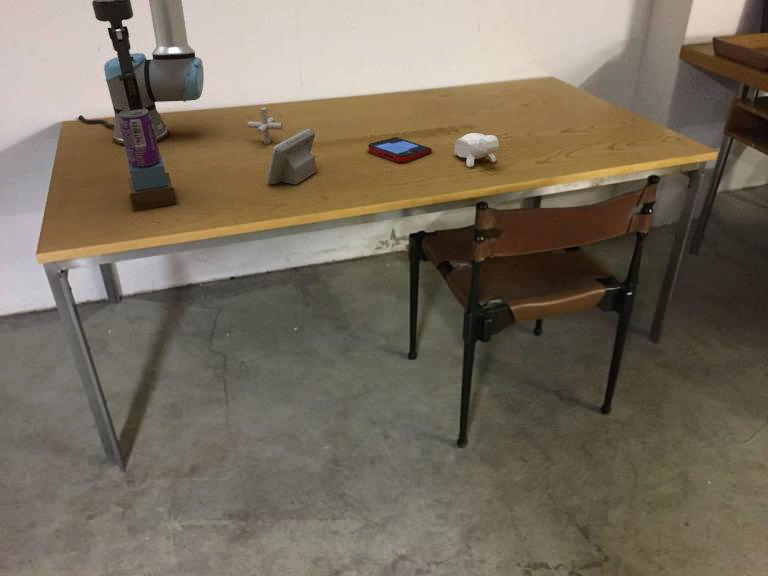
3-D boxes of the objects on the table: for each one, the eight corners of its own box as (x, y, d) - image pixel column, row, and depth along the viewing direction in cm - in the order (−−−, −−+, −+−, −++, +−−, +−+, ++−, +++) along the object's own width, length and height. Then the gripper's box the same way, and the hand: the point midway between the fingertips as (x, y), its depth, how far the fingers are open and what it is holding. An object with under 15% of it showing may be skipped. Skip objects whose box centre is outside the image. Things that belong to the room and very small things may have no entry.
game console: (433, 152, 177) (433, 144, 176) (401, 165, 170) (401, 157, 168) (396, 140, 186) (396, 132, 184) (364, 151, 178) (364, 144, 177)
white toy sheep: (452, 168, 175) (482, 166, 161) (447, 137, 173) (477, 132, 159) (478, 162, 178) (510, 160, 165) (474, 132, 176) (505, 127, 163)
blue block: (132, 179, 153) (127, 159, 150) (164, 174, 155) (160, 154, 152) (134, 191, 147) (129, 170, 144) (168, 185, 149) (163, 165, 147)
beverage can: (167, 159, 150) (157, 109, 143) (146, 170, 144) (134, 118, 138) (144, 155, 152) (132, 105, 146) (122, 165, 147) (109, 114, 140)
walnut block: (132, 195, 156) (127, 178, 153) (171, 189, 159) (168, 172, 156) (134, 211, 148) (130, 193, 146) (176, 204, 151) (172, 186, 149)
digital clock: (304, 162, 172) (301, 124, 166) (328, 170, 167) (326, 131, 161) (258, 181, 162) (253, 141, 156) (282, 191, 157) (278, 150, 151)
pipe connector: (277, 149, 181) (274, 114, 175) (244, 147, 182) (240, 113, 177) (289, 137, 189) (285, 104, 183) (257, 135, 190) (253, 102, 185)
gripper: (133, 7, 123) (156, 114, 135) (125, -12, 142) (146, 83, 154) (92, 10, 121) (119, 119, 133) (90, -10, 140) (114, 87, 152)
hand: (134, 100), depth 143 cm, fingers open, 13 cm apart
